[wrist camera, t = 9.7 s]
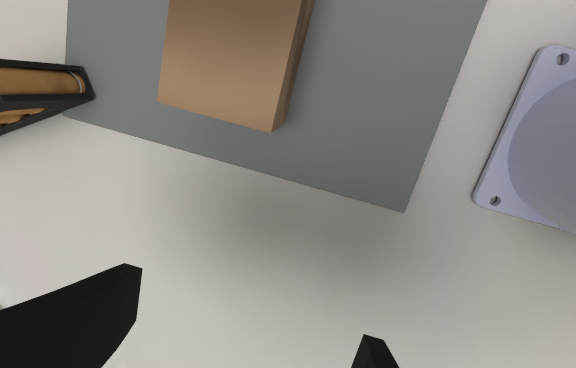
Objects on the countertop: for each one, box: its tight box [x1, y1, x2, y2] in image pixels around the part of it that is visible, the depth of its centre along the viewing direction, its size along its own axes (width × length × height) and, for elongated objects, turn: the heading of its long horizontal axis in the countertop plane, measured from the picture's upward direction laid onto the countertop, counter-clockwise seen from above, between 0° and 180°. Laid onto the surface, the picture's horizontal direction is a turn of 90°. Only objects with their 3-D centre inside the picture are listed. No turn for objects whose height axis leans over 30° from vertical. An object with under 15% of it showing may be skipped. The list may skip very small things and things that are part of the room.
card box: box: [157, 0, 315, 133], centre depth 14 cm, size 9×5×4 cm, turn 166°
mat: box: [63, 0, 487, 213], centre depth 16 cm, size 20×15×1 cm
